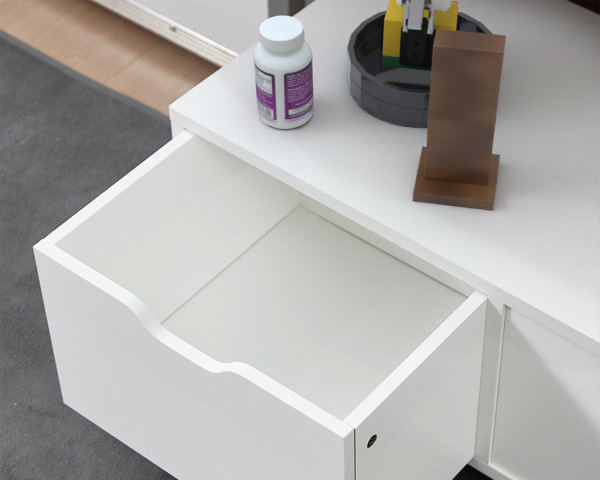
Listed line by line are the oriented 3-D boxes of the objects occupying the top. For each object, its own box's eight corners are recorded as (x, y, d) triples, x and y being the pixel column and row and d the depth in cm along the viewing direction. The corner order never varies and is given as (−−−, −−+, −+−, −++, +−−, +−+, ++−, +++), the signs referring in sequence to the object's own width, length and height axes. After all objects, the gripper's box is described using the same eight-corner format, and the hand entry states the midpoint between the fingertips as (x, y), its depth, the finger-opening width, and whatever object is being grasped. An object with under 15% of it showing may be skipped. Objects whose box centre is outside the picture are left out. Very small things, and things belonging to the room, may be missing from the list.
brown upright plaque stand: (499, 162, 111) (516, 21, 100) (492, 210, 106) (510, 68, 95) (421, 154, 112) (431, 13, 101) (412, 201, 107) (421, 59, 96)
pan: (500, 46, 123) (504, 12, 120) (487, 135, 113) (491, 100, 110) (360, 33, 125) (360, -1, 122) (336, 119, 115) (336, 84, 112)
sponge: (454, 47, 118) (458, 1, 114) (449, 73, 115) (453, 26, 111) (388, 40, 119) (390, -6, 115) (382, 66, 116) (384, 19, 112)
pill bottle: (314, 95, 118) (312, 10, 111) (313, 131, 114) (311, 44, 107) (258, 96, 118) (253, 10, 111) (255, 131, 114) (250, 44, 107)
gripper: (467, -76, 97) (449, 108, 110) (486, -174, 108) (468, 4, 122) (373, -84, 98) (366, 99, 111) (402, -180, 109) (393, -4, 123)
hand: (419, 47), depth 116 cm, fingers closed on sponge, 4 cm apart
